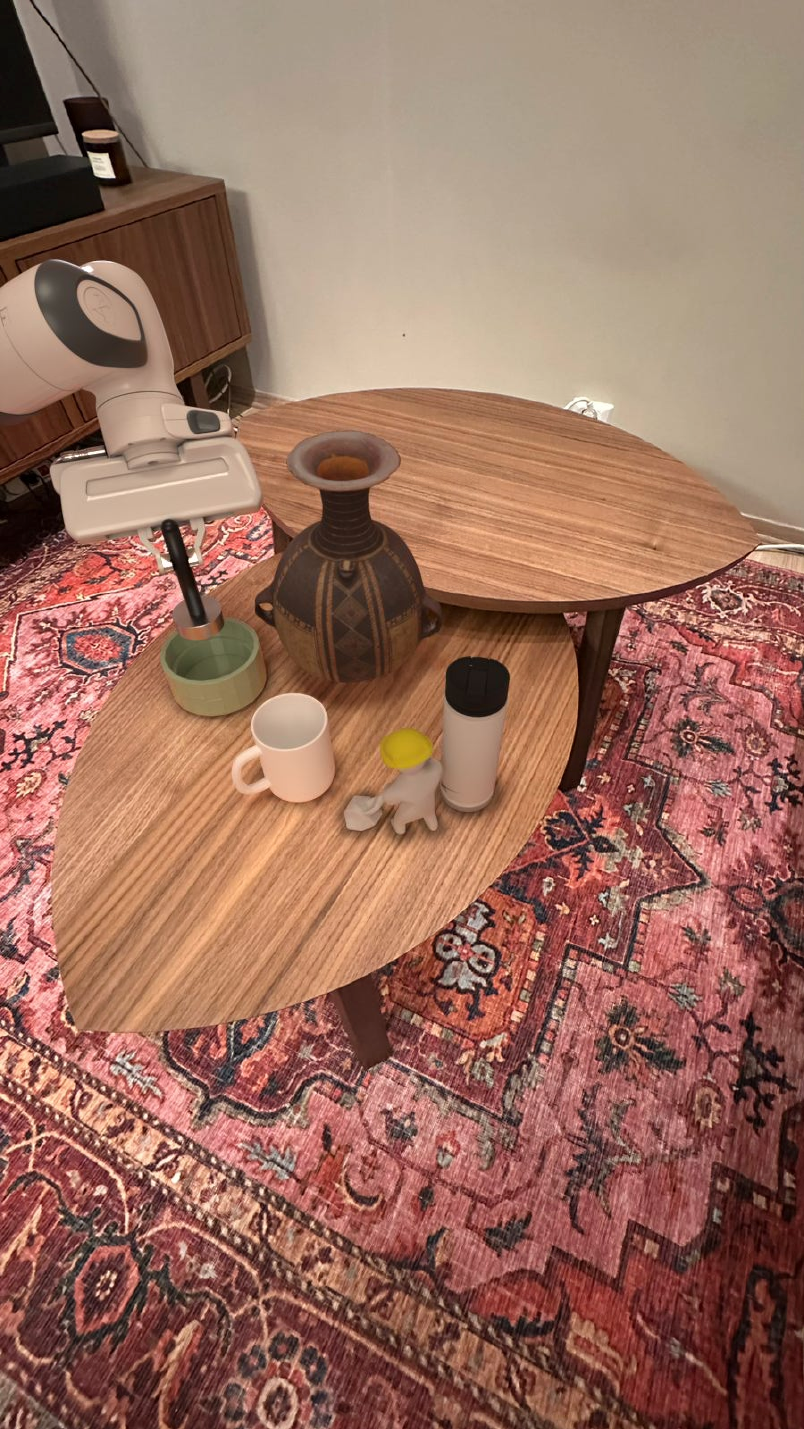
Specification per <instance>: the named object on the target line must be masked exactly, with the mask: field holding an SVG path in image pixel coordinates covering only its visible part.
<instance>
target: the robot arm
mask: <svg viewBox="0 0 804 1429" xmlns="http://www.w3.org/2000/svg"><path fill="white" fill-rule="evenodd" d="M161 317H162V316H161V315H160V312H159V309H158V307H157V304H156V302H155V299H154V298H153V295H152V293H151V291H150V289H149V288H148V286H147V284H146V282H145V281H144V280H143V278H142V277H141V276H140V275H139V274H138V273H137V272H135V271H134V270H133V269H131V268H129V267H127V266H125V265H123V264H120V263H117V262H114V261H107V260H96V261H95V260H94V261H90V262H86V263H84V264H82V265H80V266H78V265H76V264H74V263H71V262H68V261H65V260H62V259H47V260H45V261H43V262H41V263H38V264H36V265H33V266H32V267H30V268H28V269H27V270H25V271H23V272H22V273H20V274H19V275H17V276H15V277H14V278H11V279H10V280H9V281H7V282H6V283H4V284H3V285H2V286H1V287H0V425H1V426H17V425H20V424H23V423H25V422H27V421H28V420H30V419H31V418H32V417H34V416H35V415H38V413H40V412H41V411H42V410H44V409H46V408H47V407H48V406H51V405H52V404H54V403H56V402H59V401H60V400H62V399H64V398H66V397H68V396H70V395H72V394H74V393H77V392H78V391H80V390H83V391H87V392H89V393H92V394H93V395H94V396H95V412H96V415H97V419H98V424H99V427H100V431H101V436H102V438H103V442H104V445H98V446H92V447H87V448H84V449H79V450H75V451H74V450H67V451H63V452H60V456H59V457H57V458H55V459H54V460H53V462H51V465H50V467H49V476H50V480H51V482H52V487H53V489H54V491H55V492H56V493H57V494H58V496H59V498H60V504H61V505H60V506H61V511H62V517H63V522H64V525H65V526H64V527H65V530H66V533H67V534H68V535H69V537H70V538H72V539H73V540H74V541H76V542H77V543H80V544H81V545H83V546H86V545H92V544H96V543H97V544H98V543H103V542H108V541H109V542H110V541H114V540H119V539H124V538H130V537H136V536H138V539H139V542H140V543H141V544H142V545H143V546H144V547H145V548H146V549H147V550H148V551H149V553H150V554H152V556H154V557H155V561H156V564H157V568H158V572H159V573H160V574H161V575H163V574H169V573H173V572H175V570H174V567H173V564H172V561H171V558H170V555H169V552H164V553H162V552H161V551H159V550H158V548H156V547H155V546H154V544H153V543H156V542H157V539H156V535H155V533H156V532H161V523H162V522H163V521H164V520H165V519H173V520H175V521H176V522H177V523H178V525H179V528H183V527H187V526H188V527H189V526H190V527H191V531H192V532H193V534H194V535H195V539H194V543H193V547H190V548H186V552H187V556H188V557H189V559H188V561H189V564H190V567H191V568H192V569H194V568H198V567H203V566H205V561H204V557H203V553H202V550H203V547H204V543H205V541H206V537H207V534H208V531H207V526H206V524H205V523H208V522H214V521H215V522H216V521H219V520H225V519H232V518H236V517H241V516H246V515H252V514H257V513H259V512H260V510H261V509H262V507H263V504H264V494H263V491H262V486H261V483H260V480H259V477H258V474H257V471H256V469H255V466H254V464H253V461H252V459H251V457H250V456H251V455H250V454H249V452H248V450H247V449H246V447H245V445H244V444H243V443H242V442H241V441H240V440H238V439H237V438H236V432H235V428H234V425H233V422H232V419H231V418H230V416H229V413H227V412H225V411H220V410H214V409H207V408H200V407H194V406H188V405H185V401H184V398H183V396H182V394H181V392H180V390H179V389H178V387H177V384H176V380H175V373H174V372H175V363H174V358H173V353H172V350H171V345H170V342H169V339H168V336H167V332H166V328H165V326H164V323H163V320H162V318H161ZM60 462H61V463H60Z"/></svg>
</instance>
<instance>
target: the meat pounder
mask: <svg viewBox="0 0 804 1429" xmlns="http://www.w3.org/2000/svg"><path fill="white" fill-rule="evenodd" d="M180 528H181V527H179V525H178V523H177V522H176V521H175V520H173V519H165V520H164V521H163V522H162V523H161V531H160V532H161V535H162V538H163V540H164V543H165V546H166V549H167V553H169V555H170V558H171V561H172V564H173V567H174V570H175V571H174V573H175V576H176V579H177V581H178V585H179V588H180V591H181V593H182V597H183V600H182V601H179V603H177V604H176V605H175V606H174V608H173V610H172V611H171V612H172V613H171V619H172V622H173V624H174V626H175V629H176V630H177V632H178V633H179V635H180V636H182V637H183V638H185V639H188V640H204V639H208V638H210V637H212V636H214V635H216V634H217V633H219V632H220V631H221V630H222V628H223V627H224V624H225V617H226V616H225V614H224V610H223V607H222V604H221V602H220V600H218V599H217V598H215V597H213V596H211V595H210V596H209V595H201V593H200V590H199V587H198V583H197V581H196V577H195V574H194V571H193V568H191V567H190V564H189V561H188V559H189V557H188V556H187V552H186V549H187V548H186V545H185V541H184V538H183V535H182V532H181V529H180Z"/></svg>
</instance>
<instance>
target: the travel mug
mask: <svg viewBox="0 0 804 1429" xmlns="http://www.w3.org/2000/svg"><path fill="white" fill-rule="evenodd" d="M444 681H445V682H444V693H443V694H444V695H443V714H442V718H443V719H442V732H441V733H442V736H441V753H440V754H441V757H440V763H441V765H442V767H443V774H442V777H441V780H440V782H439V793H440V797H441V799H442V800H443V801H444V803H445V804H446V805H447V806H448V807H450V808H451V809H453V810H456V811H458V812H461V813H474V812H478V811H481V810H482V809H485V808H486V807H487V806H488V805H489V804H491V802H492V799H493V797H494V793H495V786H496V780H497V773H498V766H499V760H500V759H499V758H500V755H501V754H500V753H501V747H502V746H501V745H502V740H503V733H504V727H505V719H506V713H507V707H508V701H509V689H510V684H511V674H510V671H509V669H508V668H507V667H506V665H504V664H503V663H502V662H501V661H499V660H497V659H494V658H491V657H489V658H487V657H482V656H471V655H468V656H461V657H459V658H456V659H455V660H453V661H452V662H451V663H450V664H449V665H448V666H447V668H446V671H445V680H444Z"/></svg>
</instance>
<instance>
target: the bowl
mask: <svg viewBox="0 0 804 1429" xmlns="http://www.w3.org/2000/svg"><path fill="white" fill-rule="evenodd" d="M224 617H225V624H224V627H223V628H222V630H221V631H220V632H219V633H217V634H216V635H214V636H212V637H210V638H208V639H204V640H188V639H185V638H183V637H182V636H180V635H179V633H178V632H177V629H176V630H174V632H172V634H170V635H169V636H168V637H167V638H166V639H165V641H164V643H163V645H162V646H161V647H160V648H161V649H160V655H159V663H160V665H161V668H162V670H163V673H164V676H165V678H166V681H167V683H168V686H169V688H170V690H171V693H172V695H173V698H174V701H175V702H176V704H178V705H179V706H180V707H181V708H182V709H183V710H185V711H187V712H189V713H191V714H194V715H197V716H203V717H204V716H205V717H218V716H225V715H230V714H232V713H234V712H237V711H240V710H243V709H244V708H245V707H247V706H248V705H250V704H251V703H253V702H254V701H255V700H256V699H257V698H258V696H259V695H260V694H261V693H262V692H263V691H264V688H265V685H266V682H267V680H268V679H267V678H268V677H267V676H268V675H267V666H266V663H265V659H264V654H263V651H262V647H261V643H260V642H261V641H260V638H259V636H258V634H257V632H256V630H255V629H254V628H253V627H252V626H251V625H249V624H248V623H246V622H245V621H244V620H240V619H237V618H234V617H231V616H230V617H229V616H224Z"/></svg>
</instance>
